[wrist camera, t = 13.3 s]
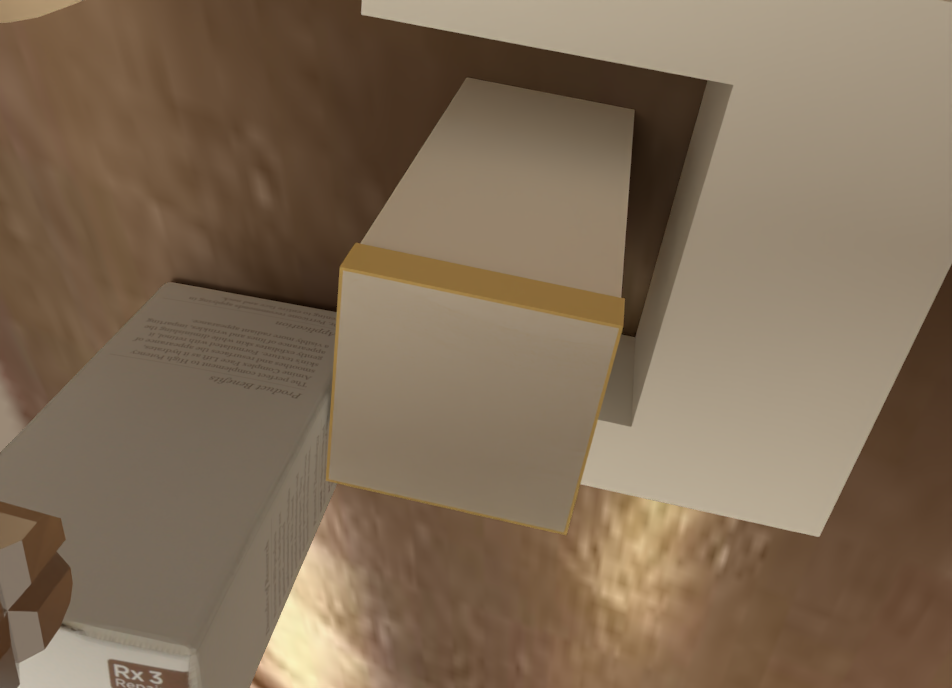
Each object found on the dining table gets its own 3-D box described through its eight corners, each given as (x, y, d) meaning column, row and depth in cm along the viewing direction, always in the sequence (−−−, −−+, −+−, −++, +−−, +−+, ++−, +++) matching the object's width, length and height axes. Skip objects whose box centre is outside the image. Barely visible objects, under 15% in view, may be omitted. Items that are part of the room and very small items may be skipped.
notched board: (1040, -131, 17) (1131, -109, 14) (797, 435, 25) (819, 536, 22) (429, -235, 18) (377, -238, 15) (375, 344, 26) (333, 429, 22)
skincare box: (178, 394, 28) (-94, 743, 18) (166, 266, 26) (-156, 586, 15) (372, 431, 27) (204, 813, 17) (378, 304, 25) (188, 661, 15)
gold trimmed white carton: (637, 108, 21) (623, 326, 13) (599, 262, 23) (566, 535, 15) (464, 74, 21) (339, 266, 13) (444, 230, 24) (325, 480, 15)
